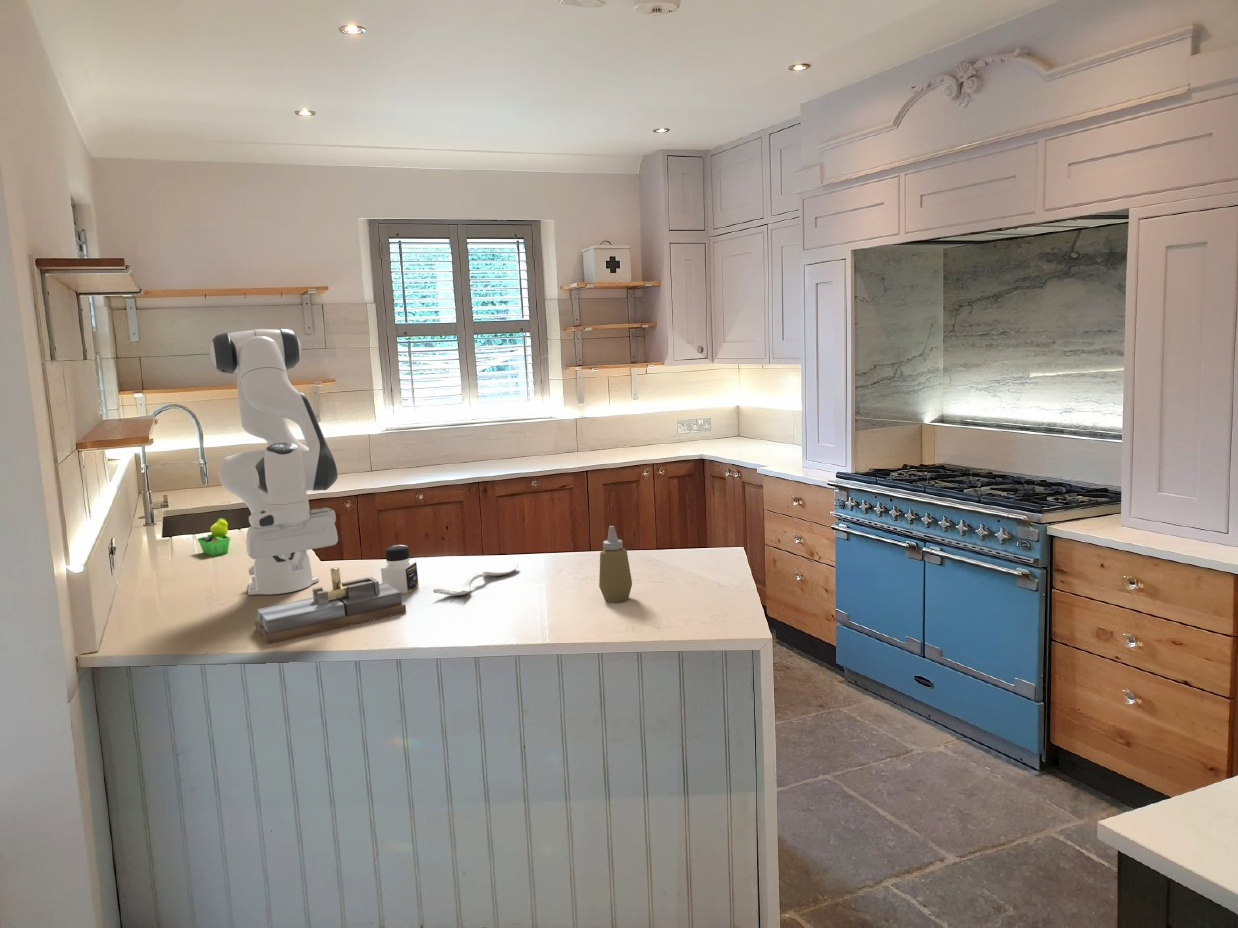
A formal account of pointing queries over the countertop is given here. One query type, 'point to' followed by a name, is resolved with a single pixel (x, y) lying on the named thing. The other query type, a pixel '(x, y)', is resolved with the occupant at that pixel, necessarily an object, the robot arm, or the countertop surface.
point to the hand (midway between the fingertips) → (296, 569)
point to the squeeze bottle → (614, 569)
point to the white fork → (493, 570)
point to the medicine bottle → (400, 569)
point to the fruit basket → (216, 539)
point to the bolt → (337, 585)
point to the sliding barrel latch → (329, 610)
